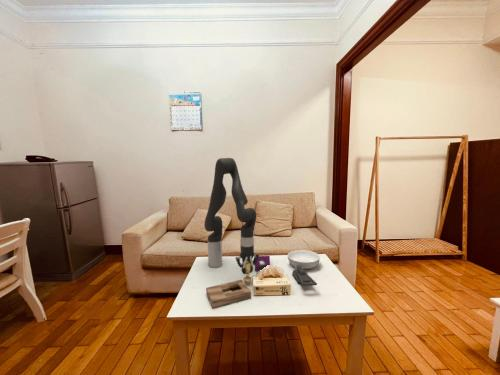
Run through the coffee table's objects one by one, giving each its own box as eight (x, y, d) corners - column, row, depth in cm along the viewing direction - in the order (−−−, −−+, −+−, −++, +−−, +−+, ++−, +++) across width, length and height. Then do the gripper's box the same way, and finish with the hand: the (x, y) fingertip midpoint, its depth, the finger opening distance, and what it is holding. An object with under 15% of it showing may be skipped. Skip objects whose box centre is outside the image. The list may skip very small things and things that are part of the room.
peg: (242, 279, 135) (242, 261, 134) (249, 277, 137) (249, 260, 136) (245, 283, 131) (245, 264, 130) (252, 281, 133) (252, 263, 132)
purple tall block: (254, 269, 164) (255, 270, 147) (254, 257, 167) (254, 256, 150) (268, 269, 164) (270, 269, 147) (267, 257, 167) (269, 255, 150)
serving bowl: (306, 256, 171) (306, 247, 170) (326, 268, 152) (326, 258, 151) (281, 262, 162) (281, 252, 161) (300, 275, 143) (300, 264, 142)
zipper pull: (301, 284, 121) (291, 263, 146) (301, 296, 122) (291, 273, 146) (318, 283, 121) (305, 262, 146) (318, 295, 122) (305, 272, 147)
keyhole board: (206, 294, 124) (206, 287, 124) (241, 286, 132) (241, 279, 132) (212, 308, 112) (212, 301, 112) (251, 298, 120) (250, 291, 120)
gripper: (255, 239, 138) (255, 267, 140) (232, 243, 132) (233, 272, 134) (261, 244, 131) (261, 273, 133) (237, 248, 125) (238, 278, 127)
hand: (247, 272), depth 134 cm, fingers closed on peg, 3 cm apart
